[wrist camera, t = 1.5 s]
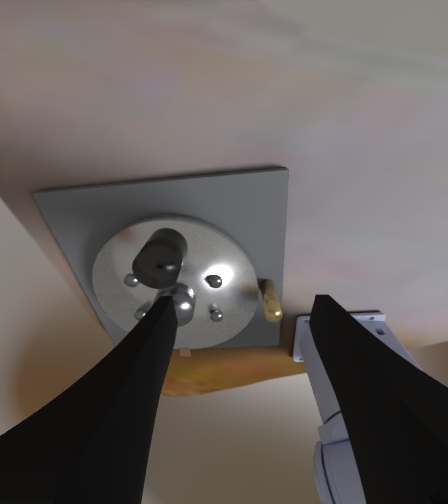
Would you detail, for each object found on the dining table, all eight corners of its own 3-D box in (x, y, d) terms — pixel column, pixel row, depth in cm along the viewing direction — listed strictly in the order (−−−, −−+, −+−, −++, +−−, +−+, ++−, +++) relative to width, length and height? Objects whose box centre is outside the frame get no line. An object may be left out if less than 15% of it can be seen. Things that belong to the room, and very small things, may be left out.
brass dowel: (274, 278, 21) (283, 309, 17) (273, 289, 21) (282, 321, 18) (259, 279, 21) (265, 310, 17) (259, 290, 22) (265, 322, 18)
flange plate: (270, 332, 24) (279, 377, 20) (148, 352, 26) (132, 396, 22) (236, 193, 16) (238, 218, 12) (67, 238, 19) (18, 272, 14)
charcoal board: (285, 167, 17) (289, 169, 16) (277, 338, 27) (279, 345, 26) (40, 190, 18) (31, 193, 17) (121, 345, 28) (117, 352, 27)
